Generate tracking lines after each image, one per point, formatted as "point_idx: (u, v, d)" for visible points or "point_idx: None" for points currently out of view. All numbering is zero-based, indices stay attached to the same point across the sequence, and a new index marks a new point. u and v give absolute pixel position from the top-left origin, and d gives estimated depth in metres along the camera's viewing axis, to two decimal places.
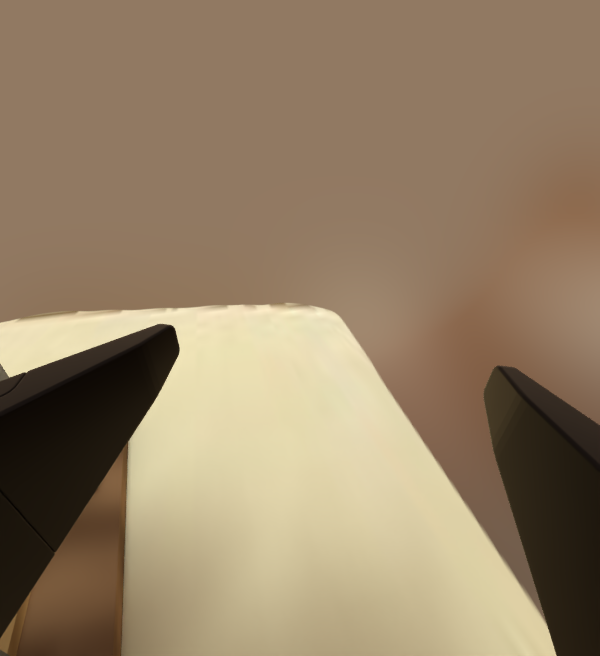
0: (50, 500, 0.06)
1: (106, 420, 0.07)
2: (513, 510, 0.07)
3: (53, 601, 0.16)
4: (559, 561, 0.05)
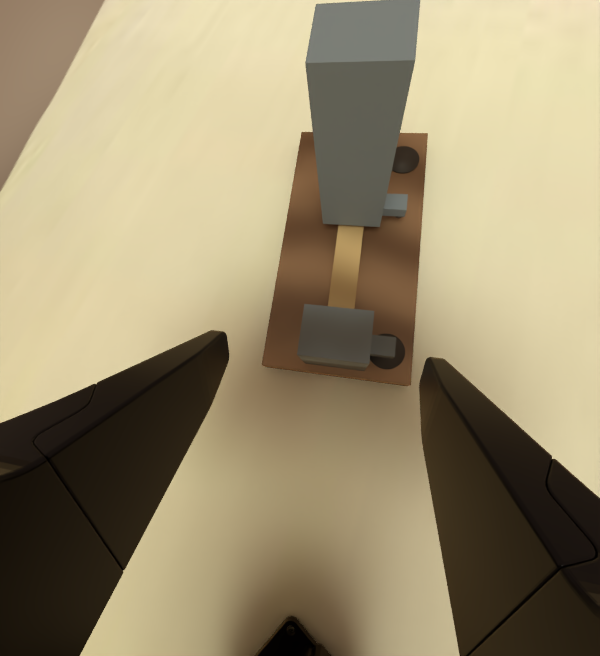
0: (122, 517, 0.06)
1: (170, 432, 0.07)
2: (432, 495, 0.07)
3: (373, 290, 0.22)
4: (458, 540, 0.06)
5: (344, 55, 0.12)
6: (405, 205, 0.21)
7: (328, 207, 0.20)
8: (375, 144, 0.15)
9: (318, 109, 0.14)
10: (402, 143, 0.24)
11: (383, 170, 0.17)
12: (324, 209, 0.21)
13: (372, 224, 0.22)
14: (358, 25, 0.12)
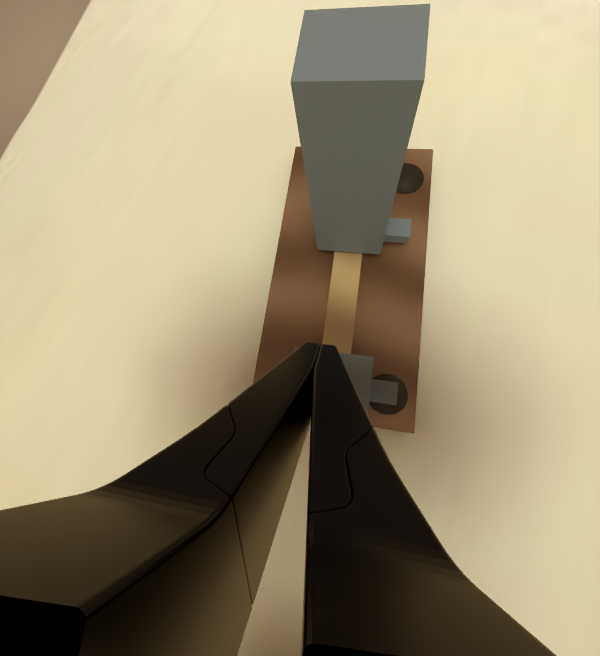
0: (258, 550, 0.06)
1: (290, 454, 0.07)
2: None
3: (373, 324, 0.20)
4: None
5: (337, 72, 0.10)
6: (408, 231, 0.19)
7: (323, 234, 0.18)
8: (375, 172, 0.13)
9: (308, 133, 0.12)
10: (405, 160, 0.22)
11: (385, 199, 0.15)
12: (319, 235, 0.19)
13: (372, 251, 0.19)
14: (355, 36, 0.10)
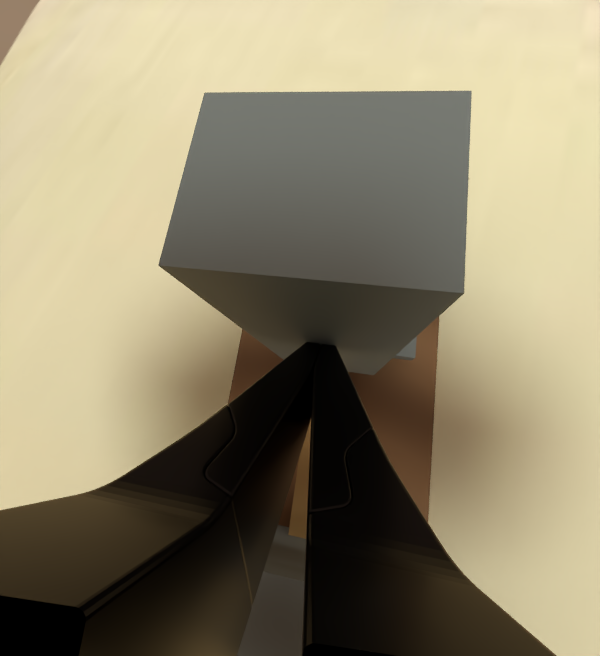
0: (258, 549, 0.06)
1: (290, 454, 0.07)
2: None
3: None
4: None
5: (260, 252, 0.04)
6: (413, 350, 0.14)
7: None
8: (360, 342, 0.08)
9: (230, 308, 0.06)
10: None
11: (378, 356, 0.09)
12: None
13: (363, 373, 0.14)
14: (304, 161, 0.04)
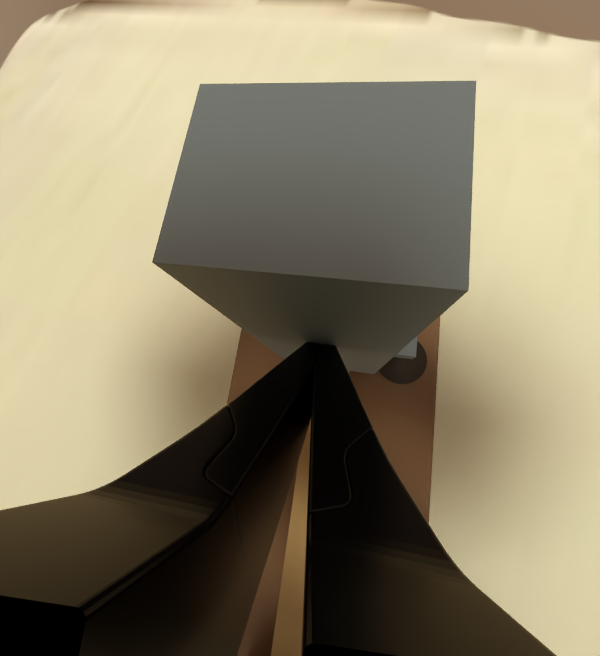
0: (258, 550, 0.06)
1: (290, 454, 0.07)
2: None
3: None
4: None
5: (257, 247, 0.04)
6: (414, 348, 0.13)
7: None
8: (360, 341, 0.07)
9: (228, 307, 0.06)
10: None
11: (378, 355, 0.09)
12: None
13: (363, 372, 0.14)
14: (302, 154, 0.04)
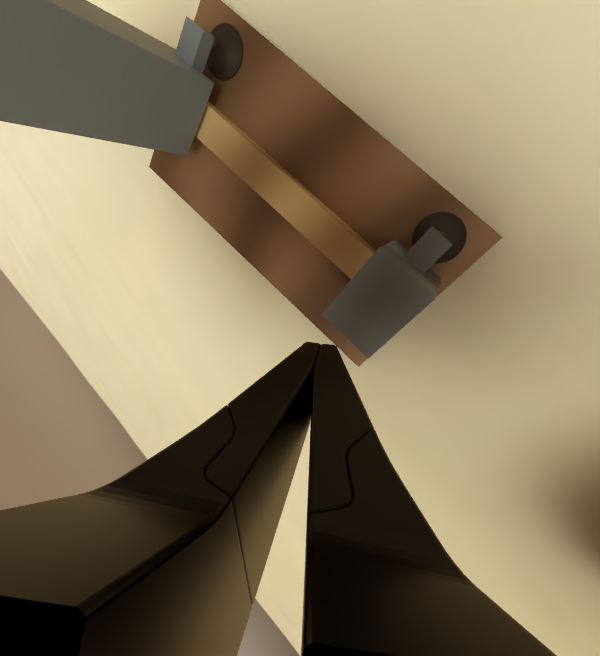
0: (258, 550, 0.06)
1: (290, 454, 0.07)
2: None
3: (358, 203, 0.16)
4: None
5: None
6: (197, 29, 0.15)
7: (163, 141, 0.17)
8: (64, 46, 0.11)
9: None
10: None
11: (115, 47, 0.12)
12: (164, 147, 0.17)
13: (206, 91, 0.16)
14: None
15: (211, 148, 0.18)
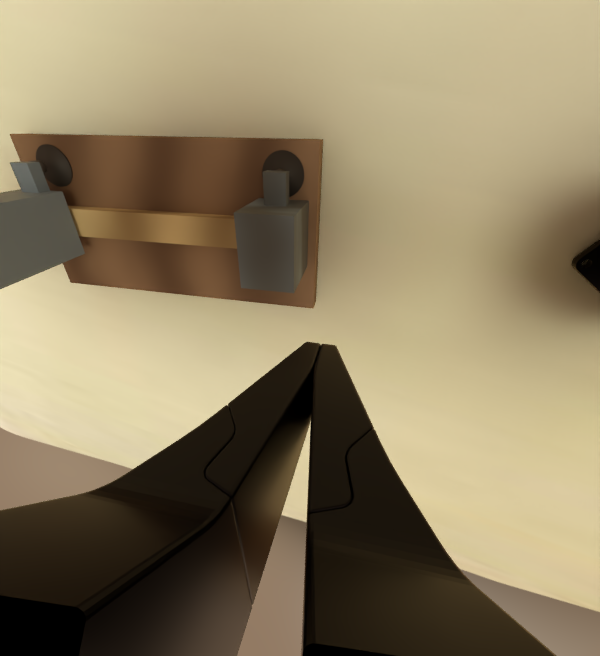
0: (258, 550, 0.06)
1: (290, 454, 0.07)
2: None
3: (216, 194, 0.19)
4: None
5: None
6: (22, 164, 0.18)
7: (58, 256, 0.20)
8: None
9: None
10: None
11: None
12: (62, 258, 0.20)
13: (61, 200, 0.20)
14: None
15: (96, 235, 0.21)
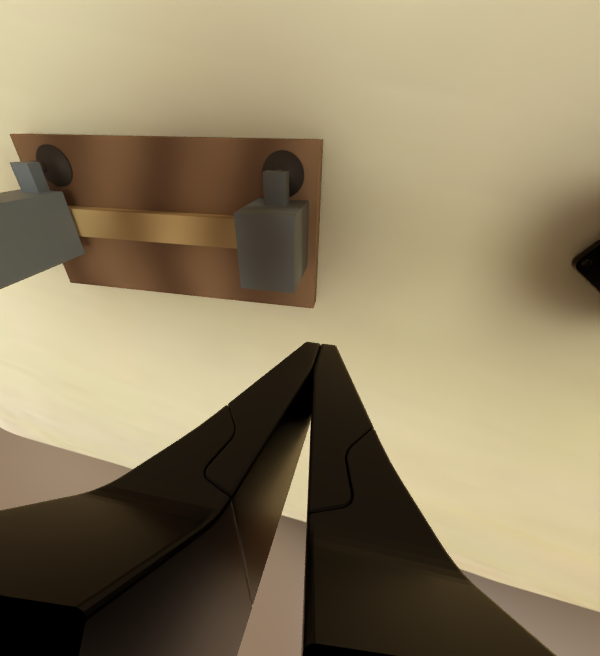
0: (258, 550, 0.06)
1: (290, 454, 0.07)
2: None
3: (216, 194, 0.19)
4: None
5: None
6: (22, 164, 0.18)
7: (58, 256, 0.20)
8: None
9: None
10: None
11: None
12: (62, 258, 0.20)
13: (61, 200, 0.20)
14: None
15: (96, 235, 0.21)
